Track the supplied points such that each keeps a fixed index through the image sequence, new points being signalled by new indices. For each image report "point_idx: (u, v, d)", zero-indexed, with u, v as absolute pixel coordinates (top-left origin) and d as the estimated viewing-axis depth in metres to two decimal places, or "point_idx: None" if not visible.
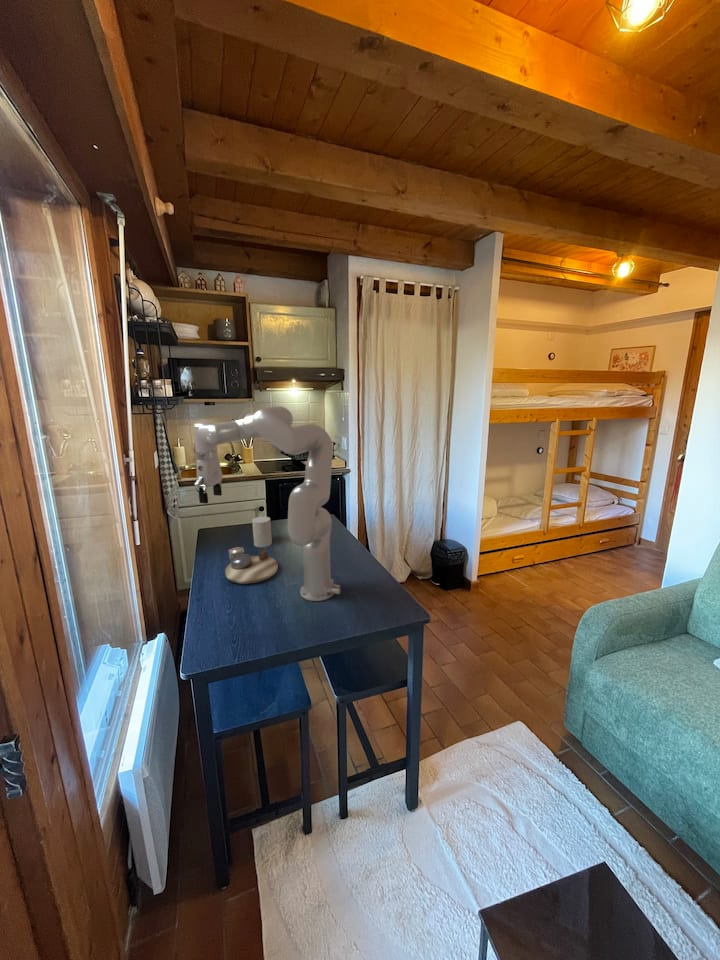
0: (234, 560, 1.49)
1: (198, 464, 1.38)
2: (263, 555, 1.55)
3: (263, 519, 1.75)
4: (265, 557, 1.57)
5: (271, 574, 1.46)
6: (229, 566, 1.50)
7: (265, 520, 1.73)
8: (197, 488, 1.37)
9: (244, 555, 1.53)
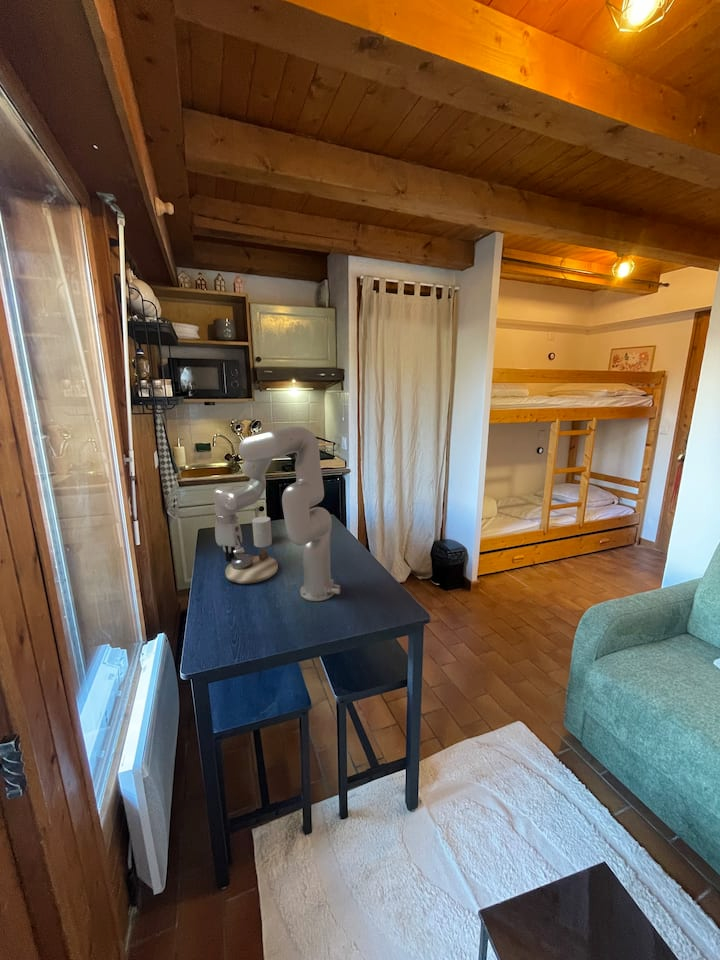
0: (235, 560, 1.49)
1: (234, 526, 1.47)
2: (263, 555, 1.55)
3: (263, 519, 1.75)
4: (265, 557, 1.57)
5: (271, 574, 1.46)
6: (229, 566, 1.50)
7: (265, 520, 1.73)
8: None
9: (245, 555, 1.53)
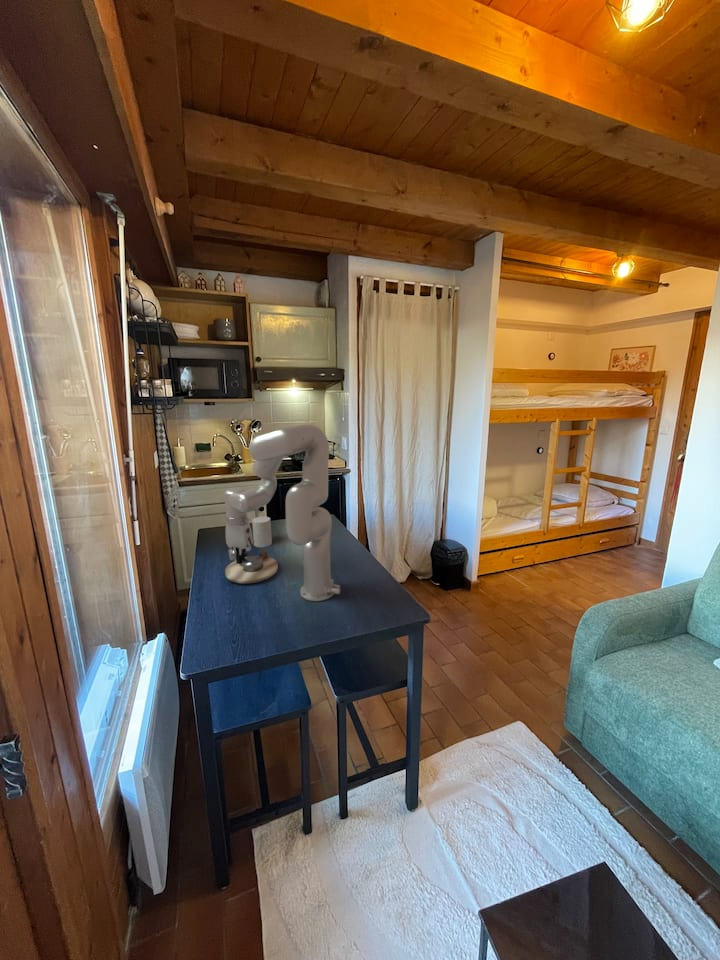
0: (246, 562, 1.47)
1: (245, 528, 1.45)
2: (263, 555, 1.55)
3: (263, 519, 1.75)
4: (265, 557, 1.57)
5: (271, 574, 1.46)
6: (229, 566, 1.50)
7: (265, 520, 1.73)
8: None
9: (256, 557, 1.51)
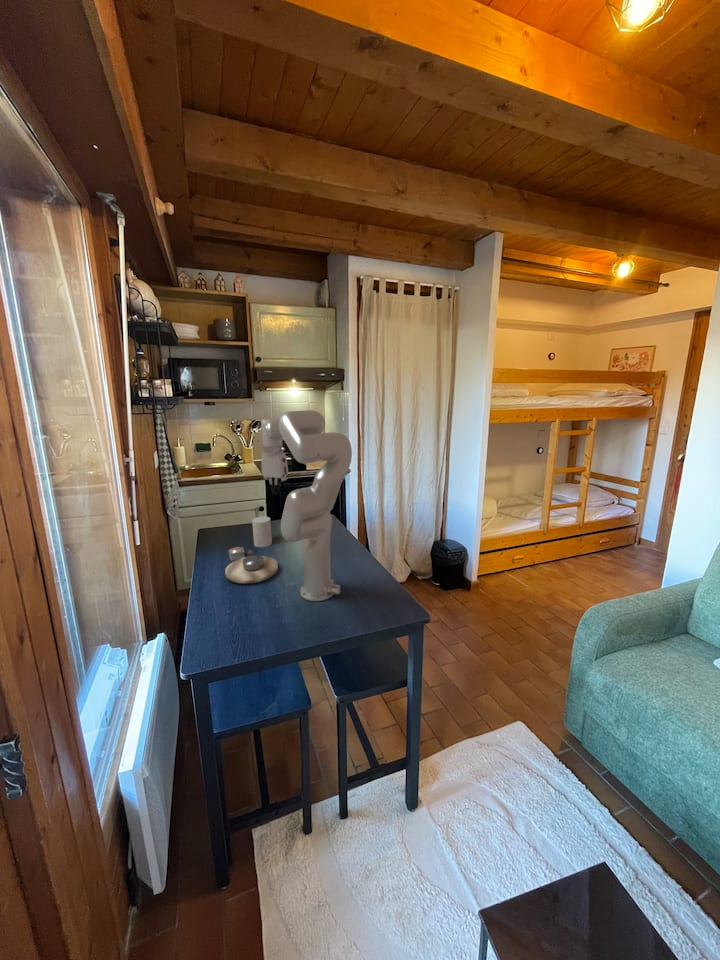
0: (251, 563, 1.47)
1: (281, 456, 1.49)
2: None
3: (263, 519, 1.75)
4: None
5: (277, 565, 1.52)
6: (229, 574, 1.44)
7: (265, 520, 1.73)
8: (282, 480, 1.53)
9: (252, 557, 1.52)
